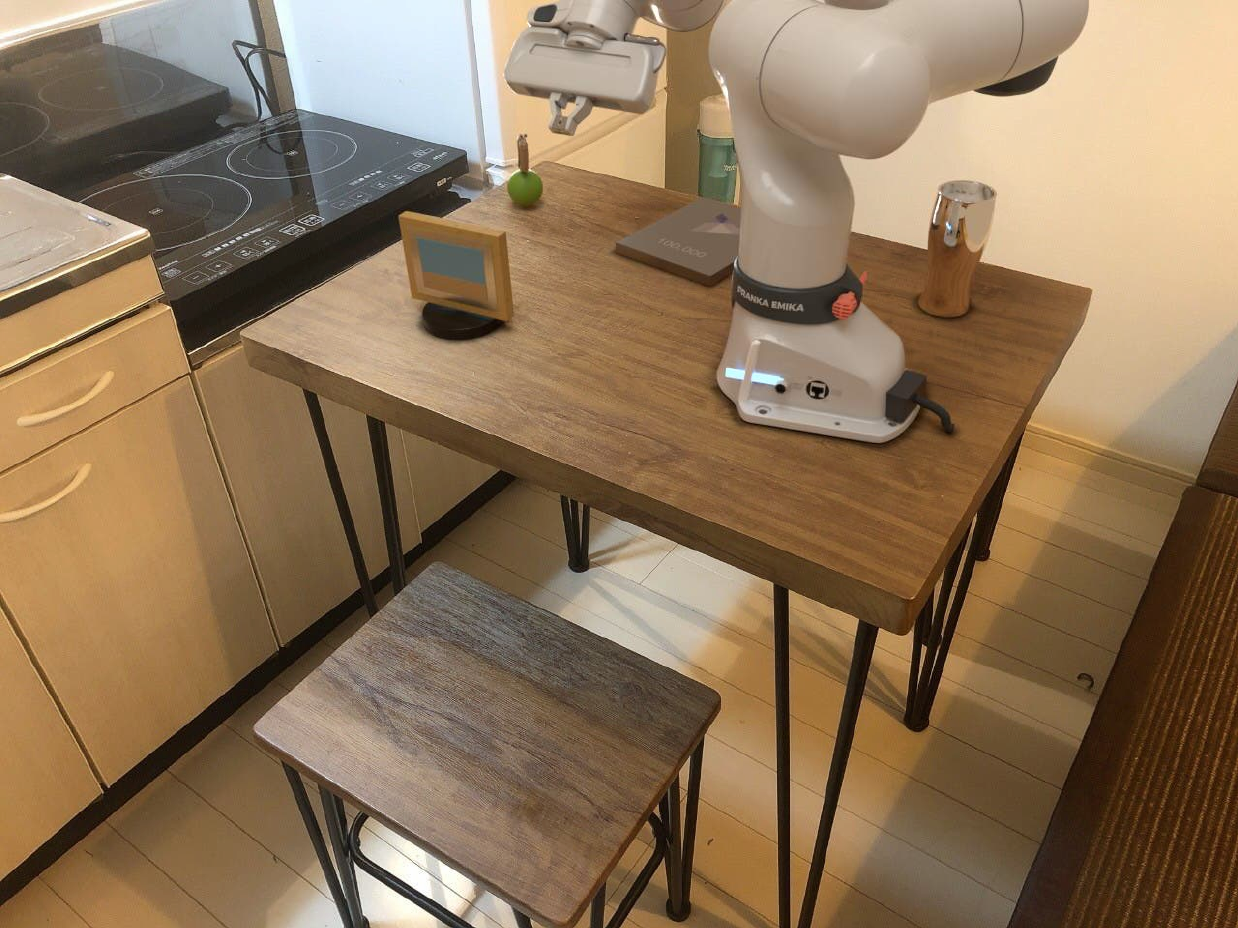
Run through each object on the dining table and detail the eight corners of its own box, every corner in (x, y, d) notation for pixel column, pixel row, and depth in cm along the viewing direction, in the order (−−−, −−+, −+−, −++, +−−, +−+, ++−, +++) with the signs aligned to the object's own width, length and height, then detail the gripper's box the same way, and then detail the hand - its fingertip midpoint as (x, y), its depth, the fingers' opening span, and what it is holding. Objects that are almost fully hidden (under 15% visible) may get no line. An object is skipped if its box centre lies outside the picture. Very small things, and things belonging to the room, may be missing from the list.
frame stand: (519, 310, 122) (518, 300, 121) (473, 347, 115) (472, 336, 114) (455, 293, 126) (453, 283, 125) (407, 328, 119) (405, 317, 118)
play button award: (615, 242, 134) (702, 197, 146) (616, 252, 135) (702, 206, 146) (710, 276, 125) (794, 225, 137) (709, 286, 126) (793, 235, 138)
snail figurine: (511, 216, 145) (504, 136, 138) (506, 199, 150) (499, 121, 143) (547, 212, 146) (542, 133, 138) (541, 195, 151) (536, 118, 143)
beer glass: (981, 303, 121) (1008, 188, 112) (957, 325, 117) (983, 208, 108) (929, 287, 125) (952, 174, 116) (904, 308, 121) (925, 193, 112)
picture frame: (514, 315, 118) (505, 231, 111) (506, 322, 116) (497, 237, 110) (419, 292, 123) (406, 210, 116) (411, 299, 121) (397, 216, 115)
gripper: (678, 54, 120) (642, 157, 120) (539, 36, 128) (505, 132, 128) (662, 24, 114) (624, 133, 114) (518, 7, 122) (482, 108, 122)
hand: (560, 132), depth 121 cm, fingers closed
